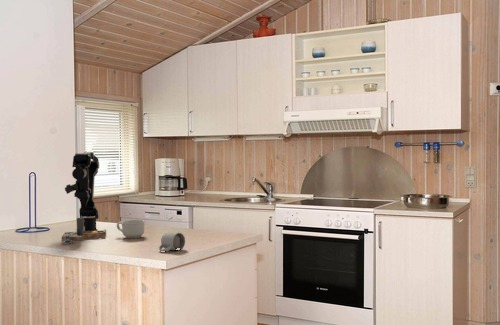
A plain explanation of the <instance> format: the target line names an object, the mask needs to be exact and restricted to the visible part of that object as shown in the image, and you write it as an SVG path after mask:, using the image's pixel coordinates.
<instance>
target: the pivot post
mask: <svg viewBox="0 0 500 325" xmlns="http://www.w3.org/2000/svg"><path fill="white" fill-rule="evenodd" d="M61 244H62V245H71V244H74V240H70V237H65V241H61Z"/></svg>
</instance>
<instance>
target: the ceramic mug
mask: <svg viewBox="0 0 500 325" xmlns="http://www.w3.org/2000/svg"><path fill="white" fill-rule="evenodd" d="M185 238H186V237H185V235H184V234H183V233H182V232H166V233H164V234H163V235H162V237H161V238H160V239H161V240H160V241H161V242H160V245H159V247H158V251H159V250H160V251H167V252H169V251H174V250H176V249H177V248H180V249H182V250H183V249H184V247H185V244H186V239H185ZM160 251H159V252H160Z"/></svg>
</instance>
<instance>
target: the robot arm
mask: <svg viewBox="0 0 500 325" xmlns="http://www.w3.org/2000/svg"><path fill="white" fill-rule="evenodd" d="M99 161H100V160H99V157H98V156H96V155H95V153H94V151H85V152H82V153H81V152H80V153H75V154H74V155H73V158H72V168H74V169H73V170H72V173H71V175H72V178H74V180H76V181H75V183H74V184H67V185H65V187H64V191H65V193H66V194H67V195H68V194H70V193H71V192H74V191H75V192H74V194H73V196H74V198H76V199H78V200H79V202H80V207H79V218H83V221H84V226H85V231H99V230H98V229H97V220H98V219H100V217H99V210H98V209H97V206H96V203H95V201H94V196H95V195H94V192H95V190H94V189H95V177H96V176H97V174H98V172H99V169H100V162H99Z"/></svg>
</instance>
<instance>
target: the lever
mask: <svg viewBox="0 0 500 325" xmlns="http://www.w3.org/2000/svg"><path fill="white" fill-rule="evenodd" d="M72 232H73V233H69V234H64V233H63V234H62V235H63V237H82V235H84V232H85V226H84V221H83V218H80V217H77V218H76V231H72ZM75 234H77V235H75Z"/></svg>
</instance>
